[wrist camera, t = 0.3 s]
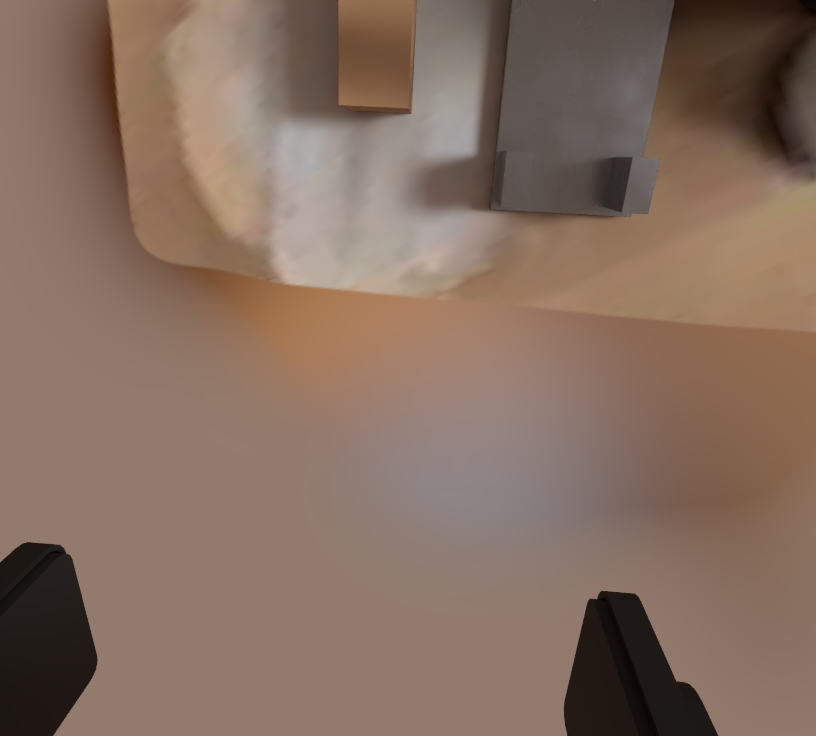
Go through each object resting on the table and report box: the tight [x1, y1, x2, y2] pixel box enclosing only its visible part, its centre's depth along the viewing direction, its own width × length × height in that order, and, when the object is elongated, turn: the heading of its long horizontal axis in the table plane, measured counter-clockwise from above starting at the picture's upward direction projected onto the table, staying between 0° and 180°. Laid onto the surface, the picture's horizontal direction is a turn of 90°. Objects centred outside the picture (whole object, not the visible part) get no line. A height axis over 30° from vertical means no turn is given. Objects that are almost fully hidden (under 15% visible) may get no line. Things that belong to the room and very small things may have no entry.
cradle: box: [490, 0, 675, 217], centre depth 29 cm, size 17×9×4 cm, turn 177°
